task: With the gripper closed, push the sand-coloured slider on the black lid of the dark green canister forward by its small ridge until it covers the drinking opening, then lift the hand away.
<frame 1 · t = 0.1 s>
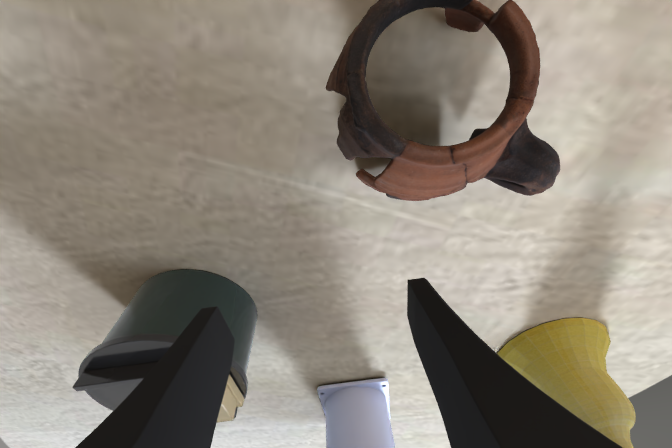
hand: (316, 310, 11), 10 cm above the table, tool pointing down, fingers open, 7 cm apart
canister: (198, 312, 25), on the table
handbell: (547, 352, 32), on the table
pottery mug: (421, 112, 17), on the table
slider: (198, 399, 19), point 8 cm above the table, slide at 0.0 cm
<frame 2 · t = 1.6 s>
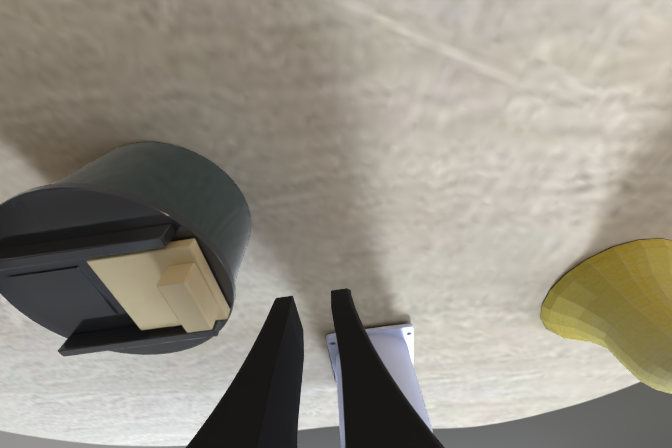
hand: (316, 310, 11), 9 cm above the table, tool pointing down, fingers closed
canister: (173, 216, 19), on the table
handbell: (609, 292, 26), on the table
slider: (160, 297, 13), point 8 cm above the table, slide at 0.0 cm
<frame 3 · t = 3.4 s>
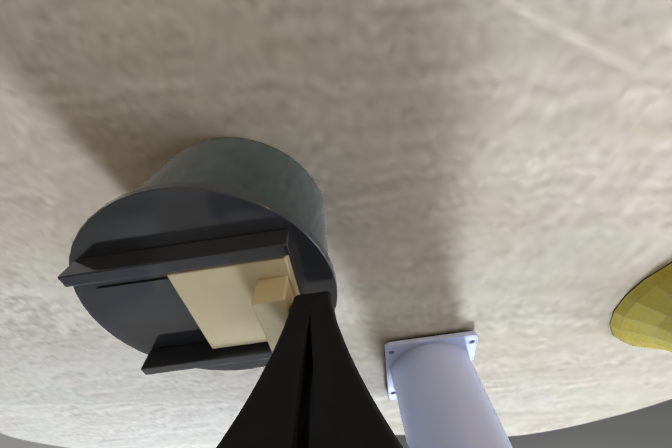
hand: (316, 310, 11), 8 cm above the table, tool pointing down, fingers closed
canister: (244, 219, 18), on the table
slider: (243, 314, 11), point 8 cm above the table, slide at 1.0 cm, touching gripper
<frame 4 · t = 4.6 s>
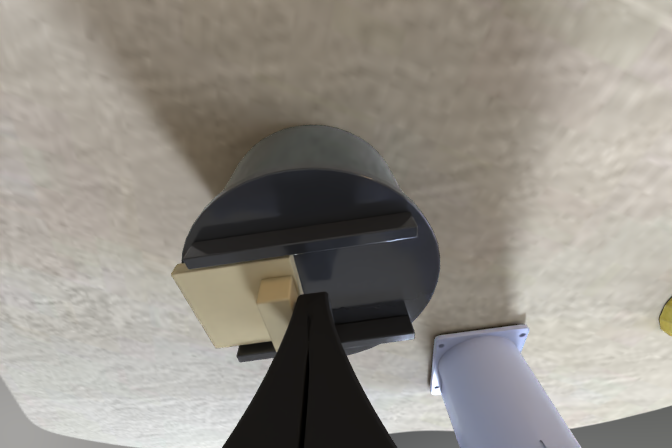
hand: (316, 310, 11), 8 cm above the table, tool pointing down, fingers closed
canister: (315, 208, 18), on the table
slider: (247, 314, 11), point 8 cm above the table, slide at 5.2 cm, touching gripper
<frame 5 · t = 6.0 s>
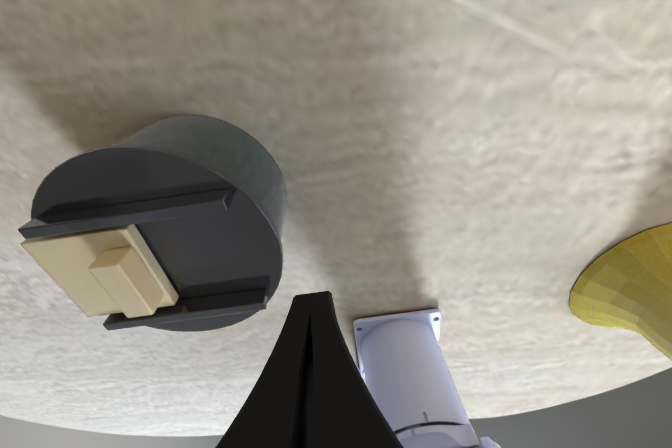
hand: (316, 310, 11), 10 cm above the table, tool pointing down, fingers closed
canister: (209, 194, 19), on the table
handbell: (639, 277, 26), on the table
slider: (100, 282, 13), point 8 cm above the table, slide at 5.1 cm
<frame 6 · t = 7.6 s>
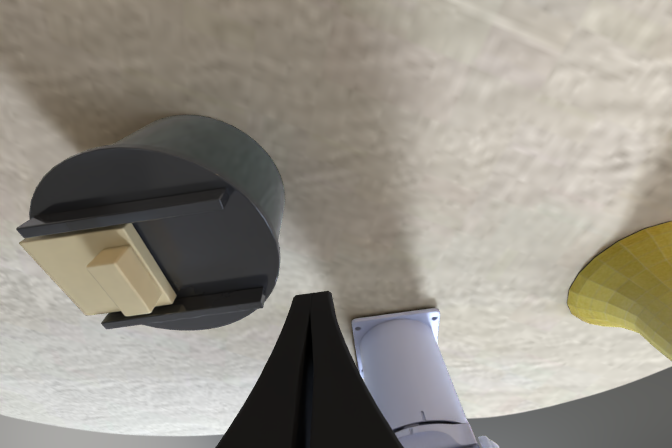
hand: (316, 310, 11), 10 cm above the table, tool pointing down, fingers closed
canister: (207, 194, 19), on the table
handbell: (637, 276, 26), on the table
slider: (98, 281, 13), point 8 cm above the table, slide at 5.1 cm
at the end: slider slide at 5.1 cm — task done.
